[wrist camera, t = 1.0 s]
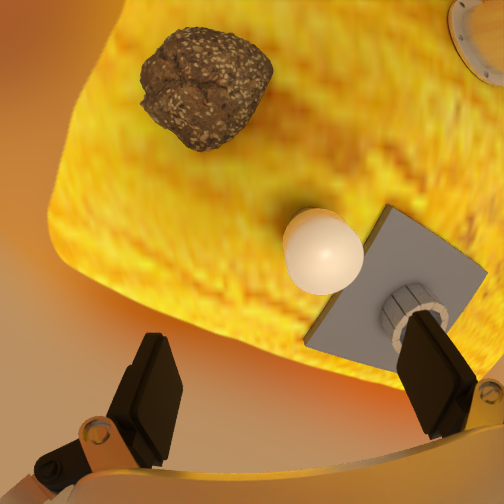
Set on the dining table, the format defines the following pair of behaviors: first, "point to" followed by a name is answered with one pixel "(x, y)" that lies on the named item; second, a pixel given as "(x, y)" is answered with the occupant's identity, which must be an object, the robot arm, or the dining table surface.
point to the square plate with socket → (395, 292)
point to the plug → (321, 251)
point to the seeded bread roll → (204, 85)
